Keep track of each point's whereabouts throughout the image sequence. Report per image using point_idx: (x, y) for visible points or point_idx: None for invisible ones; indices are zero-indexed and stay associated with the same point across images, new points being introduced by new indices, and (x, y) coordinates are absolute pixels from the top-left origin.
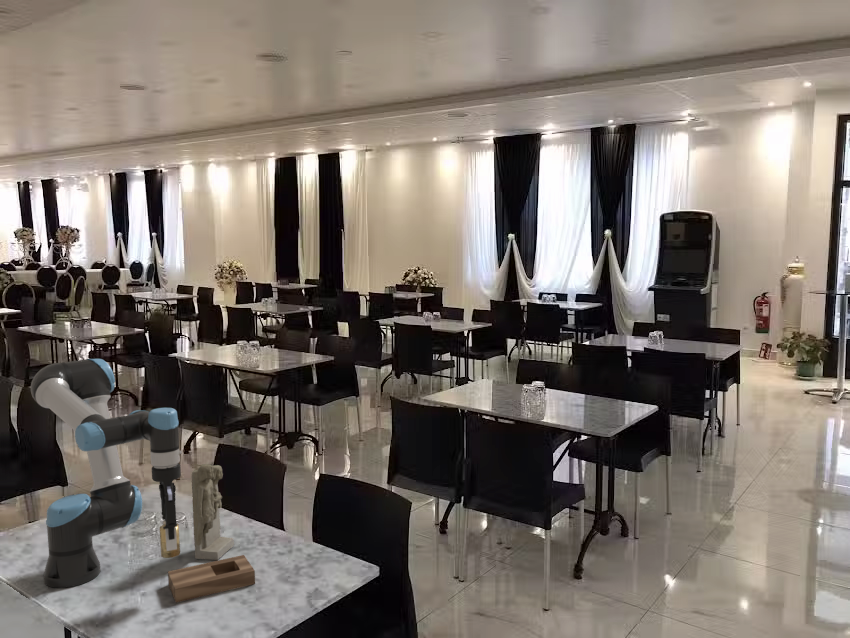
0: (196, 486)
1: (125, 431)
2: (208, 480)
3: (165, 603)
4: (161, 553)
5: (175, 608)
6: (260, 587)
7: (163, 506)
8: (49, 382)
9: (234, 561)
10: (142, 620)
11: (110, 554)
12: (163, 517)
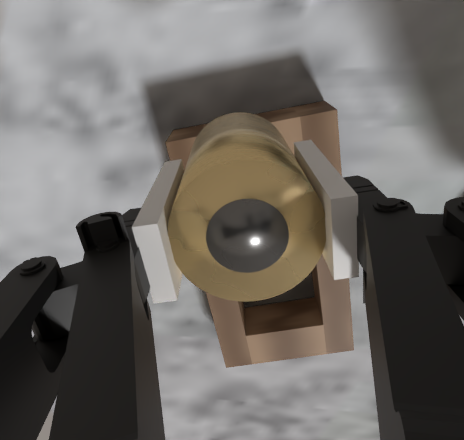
0: None
1: None
2: None
3: (180, 94)
4: (222, 119)
5: (135, 129)
6: (201, 346)
7: (376, 309)
8: None
9: (321, 323)
10: (70, 14)
11: None
12: (364, 216)
